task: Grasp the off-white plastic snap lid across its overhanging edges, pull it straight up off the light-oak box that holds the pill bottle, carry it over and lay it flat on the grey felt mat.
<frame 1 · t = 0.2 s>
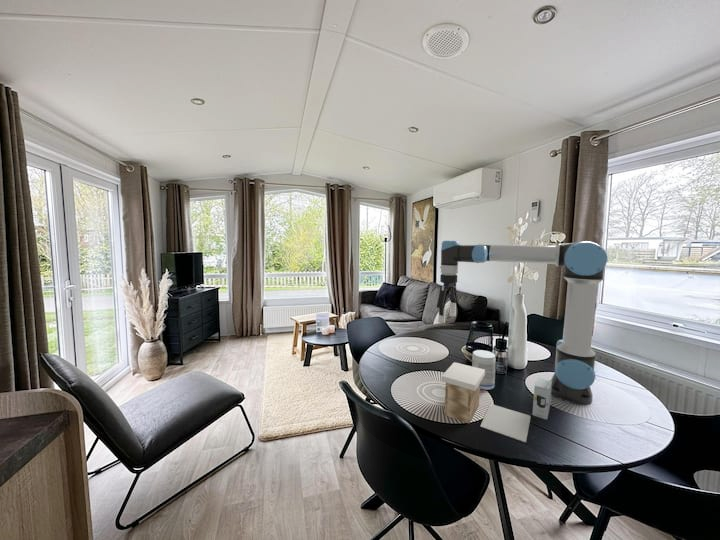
hand: (447, 319, 137), 28 cm above the table, fingers open, 13 cm apart
lid: (463, 377, 110), point 13 cm above the table, touching box
mat: (506, 421, 105), on the table
supplement tub: (482, 385, 131), on the table
box: (462, 410, 112), on the table
ink box: (541, 412, 111), on the table
pill bottle: (462, 410, 112), resting in box
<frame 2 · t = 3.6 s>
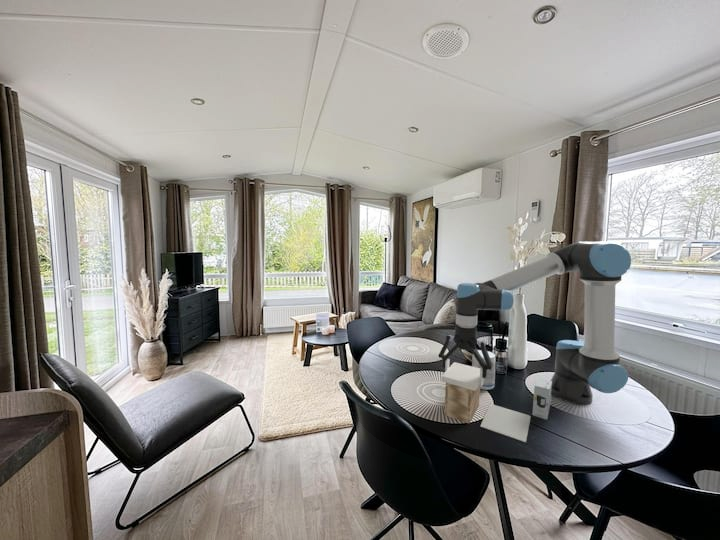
hand: (463, 380, 111), 12 cm above the table, fingers closed on lid, 12 cm apart
lid: (463, 377, 110), point 13 cm above the table, touching box, gripper
everything else where it was.
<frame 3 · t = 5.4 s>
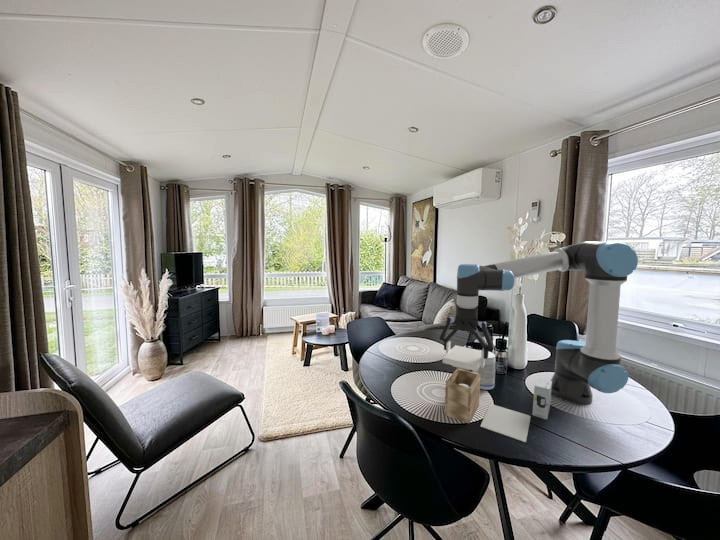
hand: (464, 362, 110), 19 cm above the table, fingers closed on lid, 12 cm apart
lid: (465, 359, 110), point 20 cm above the table, touching gripper
everything else where it was.
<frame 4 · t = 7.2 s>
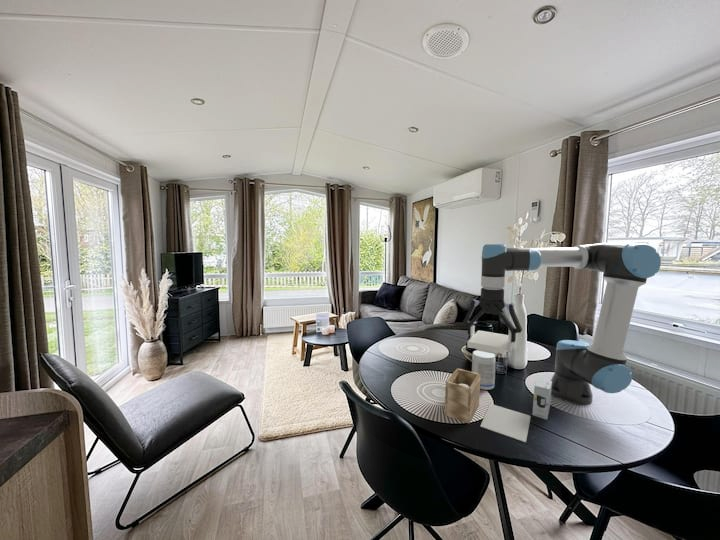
hand: (490, 346, 105), 27 cm above the table, fingers closed on lid, 12 cm apart
lid: (490, 343, 105), point 28 cm above the table, touching gripper
everything else where it was.
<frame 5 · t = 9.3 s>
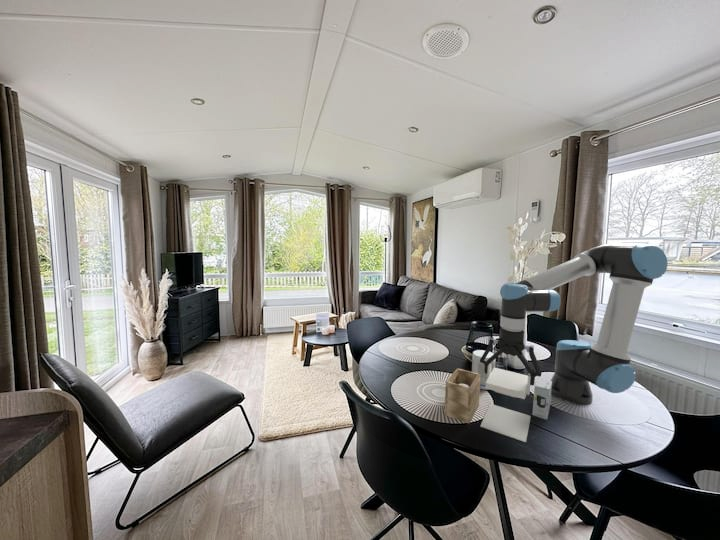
hand: (507, 387, 104), 13 cm above the table, fingers closed on lid, 12 cm apart
lid: (507, 384, 103), point 14 cm above the table, touching gripper
everything else where it was.
when the fingers open (3 cm above the table, at t = 11.2 s): lid drops 2 cm, resting on mat.
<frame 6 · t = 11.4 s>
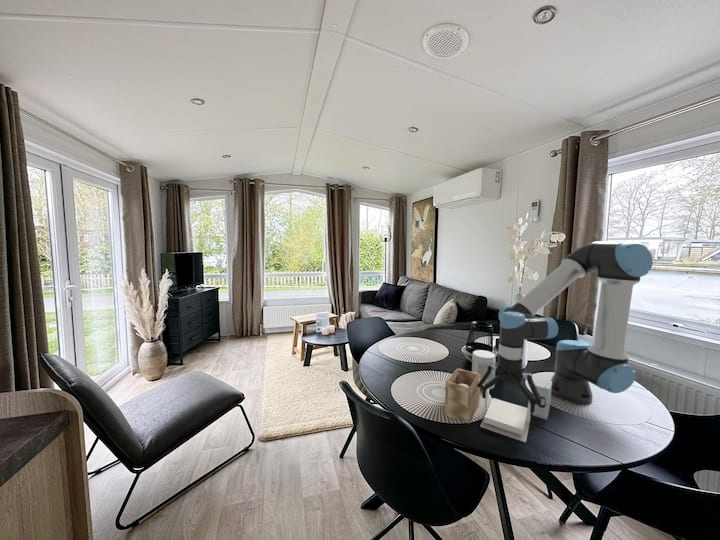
hand: (506, 413, 105), 3 cm above the table, fingers open, 13 cm apart
lid: (506, 417, 105), point 1 cm above the table, touching mat
everything else where it was.
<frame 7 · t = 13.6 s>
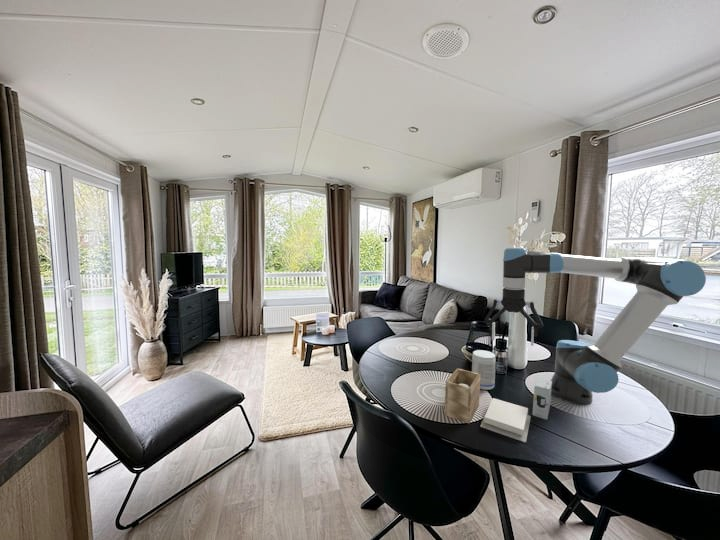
hand: (512, 341, 114), 25 cm above the table, fingers open, 13 cm apart
nothing on the table moved.
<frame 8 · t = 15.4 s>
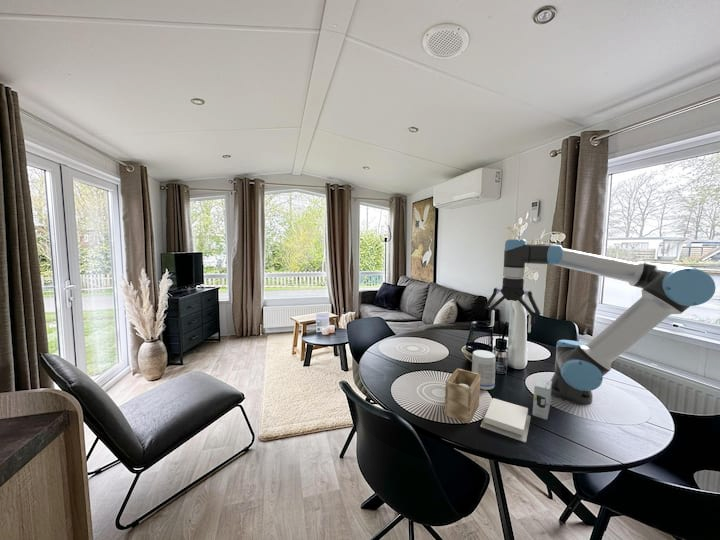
hand: (510, 328, 120), 29 cm above the table, fingers open, 13 cm apart
nothing on the table moved.
at the end: lid inside the target area on the mat (0.0 cm from its centre), point 1.5 cm above the mat's base; lid tilted 0°; lid touching mat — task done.
